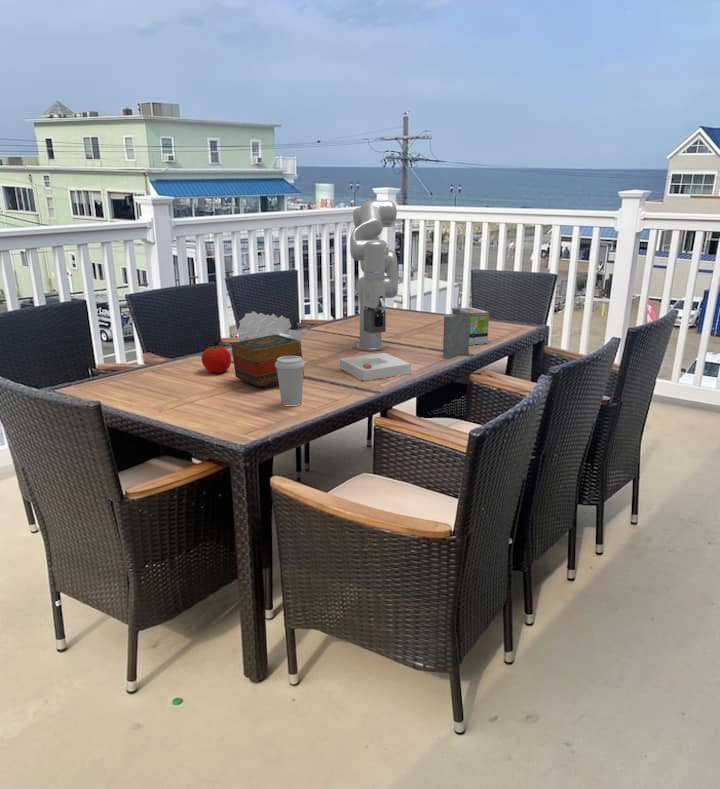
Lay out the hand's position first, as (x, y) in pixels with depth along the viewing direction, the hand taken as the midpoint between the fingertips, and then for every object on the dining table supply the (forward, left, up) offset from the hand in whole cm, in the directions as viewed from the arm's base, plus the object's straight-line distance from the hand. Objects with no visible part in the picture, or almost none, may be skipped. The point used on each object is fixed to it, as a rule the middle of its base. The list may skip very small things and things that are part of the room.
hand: (374, 324), depth 227 cm
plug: (0, 0, -2) cm, 2 cm away
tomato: (-30, -53, -18) cm, 64 cm away
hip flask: (-6, +42, -18) cm, 46 cm away
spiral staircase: (-46, -26, -18) cm, 56 cm away
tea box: (-24, +63, -18) cm, 70 cm away
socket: (0, 0, -18) cm, 18 cm away
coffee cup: (+21, -42, -18) cm, 50 cm away
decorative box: (-7, -40, -18) cm, 44 cm away
